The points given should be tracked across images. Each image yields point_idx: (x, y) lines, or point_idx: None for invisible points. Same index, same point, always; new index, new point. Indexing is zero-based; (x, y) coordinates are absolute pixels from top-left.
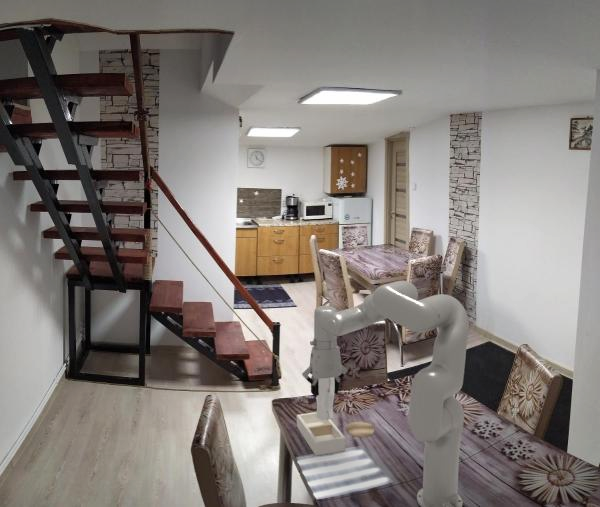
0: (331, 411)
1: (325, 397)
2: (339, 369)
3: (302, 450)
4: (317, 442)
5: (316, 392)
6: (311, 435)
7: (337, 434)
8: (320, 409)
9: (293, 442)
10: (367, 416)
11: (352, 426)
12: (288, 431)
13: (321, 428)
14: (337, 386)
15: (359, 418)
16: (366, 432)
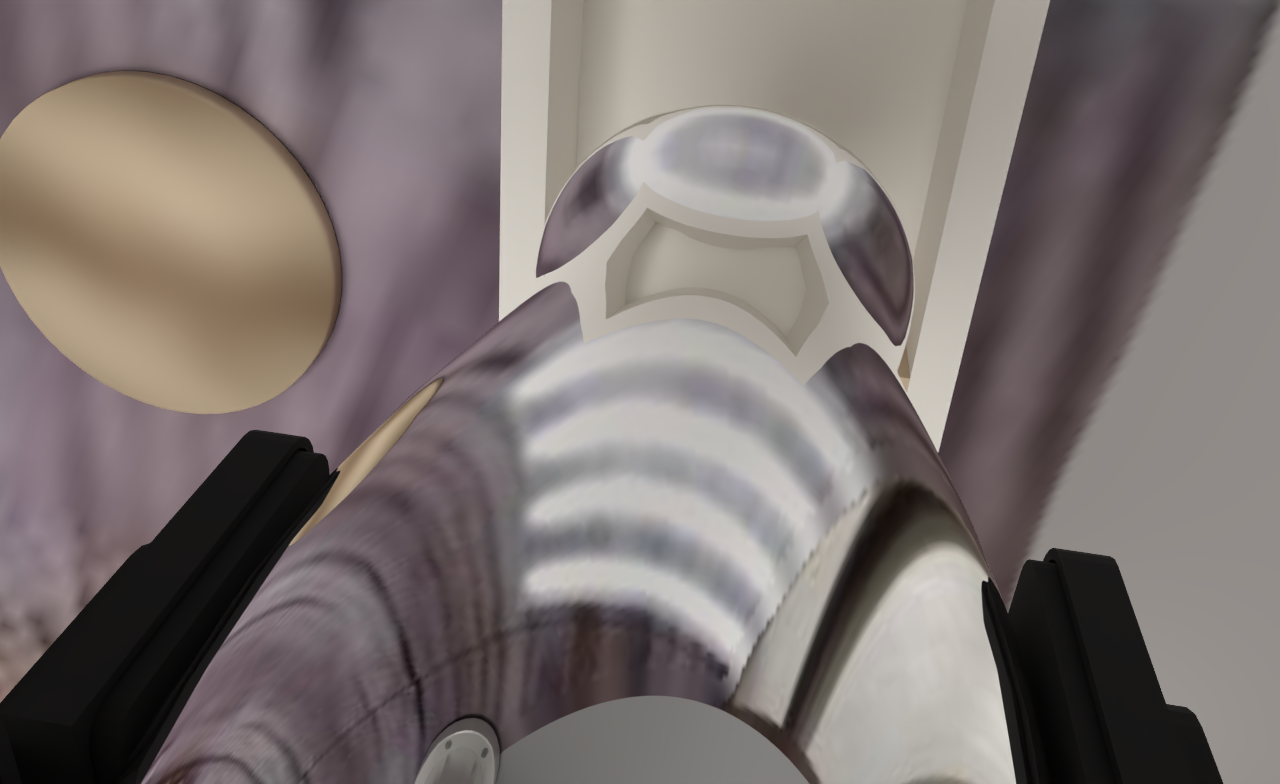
0: (611, 197)
1: (793, 357)
2: None
3: (1120, 107)
4: None
5: (1092, 656)
6: (999, 167)
7: (558, 84)
8: (876, 308)
9: (1106, 342)
10: (10, 475)
11: (244, 333)
12: (1009, 579)
13: None
14: (123, 598)
15: (109, 477)
16: (113, 127)
